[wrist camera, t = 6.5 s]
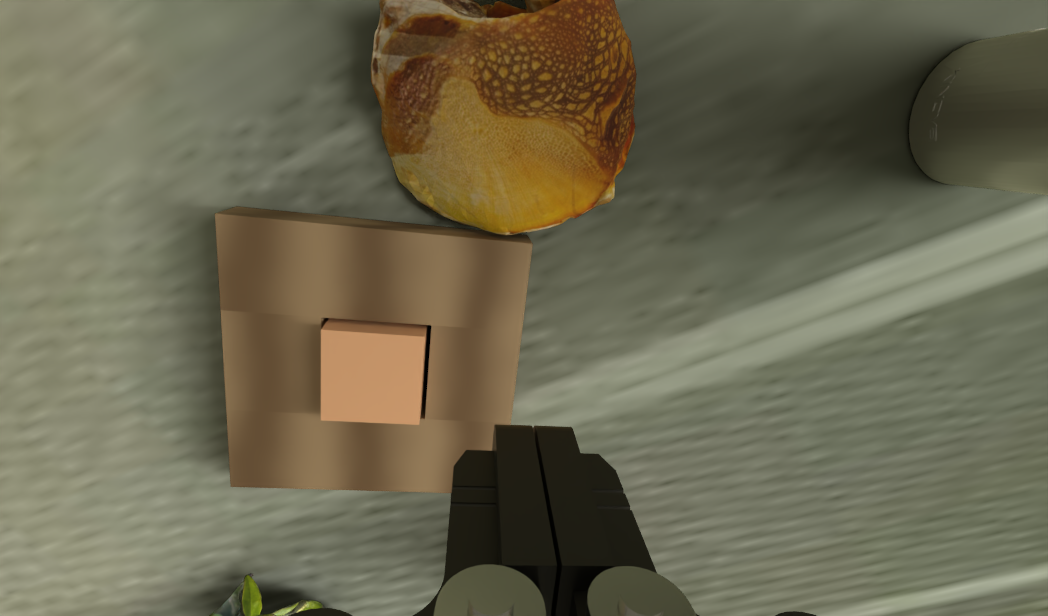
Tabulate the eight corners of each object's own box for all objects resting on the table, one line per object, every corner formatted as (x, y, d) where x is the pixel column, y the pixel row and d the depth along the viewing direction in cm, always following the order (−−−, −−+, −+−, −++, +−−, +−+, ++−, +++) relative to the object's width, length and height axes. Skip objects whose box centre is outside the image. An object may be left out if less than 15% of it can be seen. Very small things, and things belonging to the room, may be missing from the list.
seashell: (664, 224, 32) (412, 272, 28) (610, 197, 38) (401, 233, 35) (672, -126, 24) (334, -116, 21) (604, -85, 31) (338, -72, 28)
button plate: (527, 235, 35) (532, 243, 32) (499, 468, 40) (501, 494, 37) (236, 206, 32) (214, 213, 30) (248, 460, 38) (230, 486, 35)
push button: (428, 317, 35) (424, 336, 32) (423, 398, 37) (419, 425, 34) (334, 310, 34) (321, 329, 31) (333, 394, 36) (320, 420, 33)
